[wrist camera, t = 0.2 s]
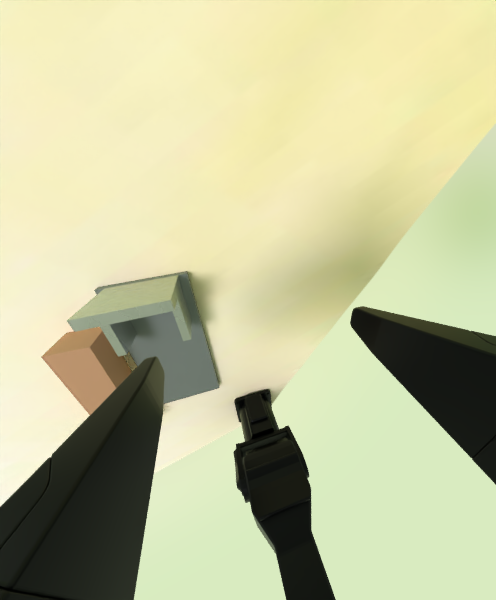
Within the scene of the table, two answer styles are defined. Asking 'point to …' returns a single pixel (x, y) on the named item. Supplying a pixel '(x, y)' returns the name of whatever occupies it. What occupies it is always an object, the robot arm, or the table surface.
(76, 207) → the table surface
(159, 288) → the bracket
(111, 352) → the rail
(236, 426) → the table surface
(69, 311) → the table surface
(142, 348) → the board
